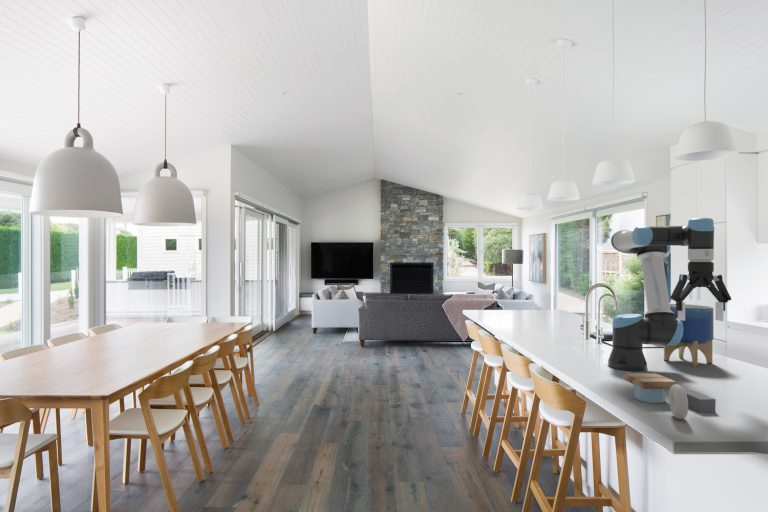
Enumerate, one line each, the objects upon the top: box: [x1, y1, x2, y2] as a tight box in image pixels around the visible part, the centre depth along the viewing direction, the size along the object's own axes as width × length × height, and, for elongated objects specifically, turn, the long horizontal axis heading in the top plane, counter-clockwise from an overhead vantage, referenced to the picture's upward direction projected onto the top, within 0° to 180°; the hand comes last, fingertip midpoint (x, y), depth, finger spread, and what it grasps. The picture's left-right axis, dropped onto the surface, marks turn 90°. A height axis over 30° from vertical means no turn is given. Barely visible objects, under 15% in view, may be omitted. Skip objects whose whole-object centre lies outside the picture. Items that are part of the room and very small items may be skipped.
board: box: [623, 372, 678, 390], centre depth 147 cm, size 11×11×2 cm
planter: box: [663, 303, 714, 367], centre depth 203 cm, size 19×19×26 cm
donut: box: [668, 383, 689, 420], centre depth 129 cm, size 10×3×10 cm, turn 158°
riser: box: [685, 389, 717, 413], centre depth 140 cm, size 10×5×4 cm, turn 2°
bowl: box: [633, 384, 666, 404], centre depth 147 cm, size 8×8×5 cm
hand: (700, 320), depth 156 cm, fingers open, 13 cm apart
